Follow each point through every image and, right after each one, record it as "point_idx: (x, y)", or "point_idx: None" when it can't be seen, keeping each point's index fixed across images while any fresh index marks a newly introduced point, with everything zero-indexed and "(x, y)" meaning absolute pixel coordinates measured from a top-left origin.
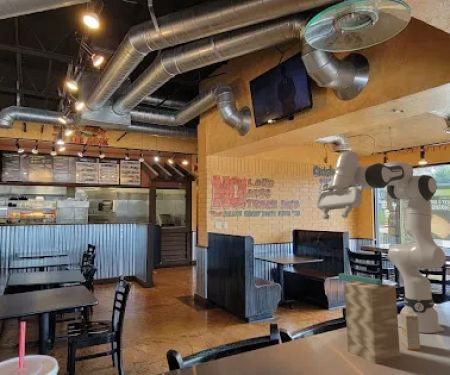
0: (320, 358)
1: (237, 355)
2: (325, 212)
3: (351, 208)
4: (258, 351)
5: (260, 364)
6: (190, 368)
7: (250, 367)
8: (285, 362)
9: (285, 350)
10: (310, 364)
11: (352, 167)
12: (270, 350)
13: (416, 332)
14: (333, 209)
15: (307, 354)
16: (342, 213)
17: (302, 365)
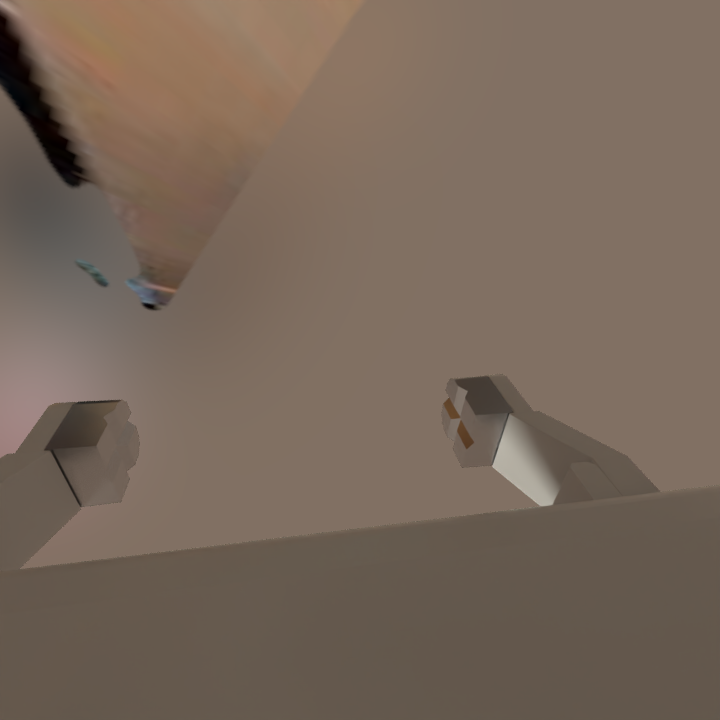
0: (231, 8)
1: (115, 201)
2: (31, 534)
3: (633, 480)
4: (96, 139)
5: (198, 188)
6: (163, 293)
7: (206, 213)
8: (212, 130)
9: (110, 57)
10: (257, 81)
11: None
12: (96, 102)
13: None
14: (74, 566)
15: (177, 17)
16: (460, 451)
17: (252, 106)
